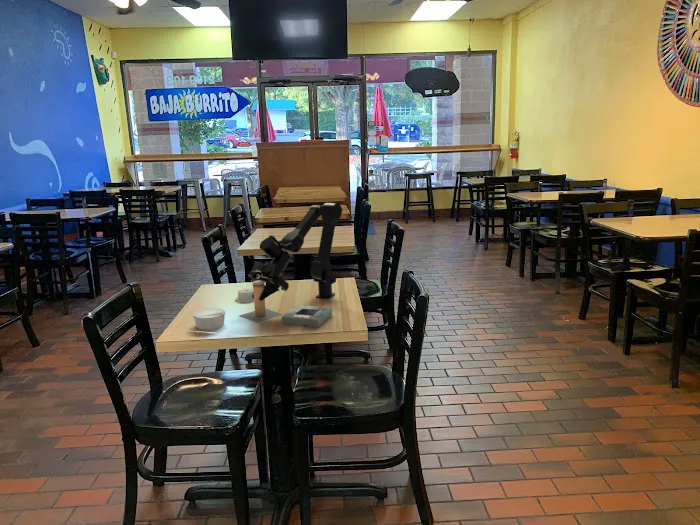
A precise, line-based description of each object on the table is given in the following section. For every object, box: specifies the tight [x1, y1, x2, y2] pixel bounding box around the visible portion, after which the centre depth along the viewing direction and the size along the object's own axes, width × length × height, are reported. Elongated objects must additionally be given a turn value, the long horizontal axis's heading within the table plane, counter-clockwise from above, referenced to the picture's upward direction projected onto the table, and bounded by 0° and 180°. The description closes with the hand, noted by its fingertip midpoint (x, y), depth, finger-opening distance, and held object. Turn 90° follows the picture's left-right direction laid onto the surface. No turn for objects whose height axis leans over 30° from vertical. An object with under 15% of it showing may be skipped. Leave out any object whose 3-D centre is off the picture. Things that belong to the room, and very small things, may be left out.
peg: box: [252, 280, 267, 317], centre depth 200 cm, size 4×4×13 cm
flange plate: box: [281, 304, 333, 329], centre depth 195 cm, size 14×14×3 cm
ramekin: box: [192, 307, 226, 331], centre depth 191 cm, size 11×11×5 cm
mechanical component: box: [235, 288, 254, 303], centre depth 222 cm, size 10×4×10 cm
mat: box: [238, 308, 284, 324], centre depth 201 cm, size 12×12×1 cm
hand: (256, 299), depth 199 cm, fingers closed on peg, 4 cm apart
